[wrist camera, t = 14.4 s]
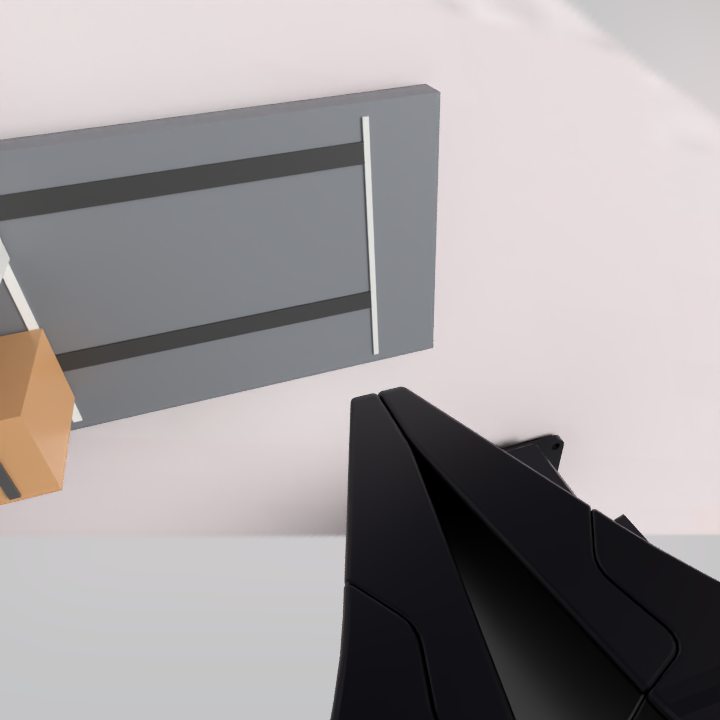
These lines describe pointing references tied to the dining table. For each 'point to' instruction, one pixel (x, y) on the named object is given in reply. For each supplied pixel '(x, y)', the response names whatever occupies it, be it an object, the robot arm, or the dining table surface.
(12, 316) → the console
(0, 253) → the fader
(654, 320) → the dining table surface
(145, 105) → the dining table surface
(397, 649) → the robot arm
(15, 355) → the block
